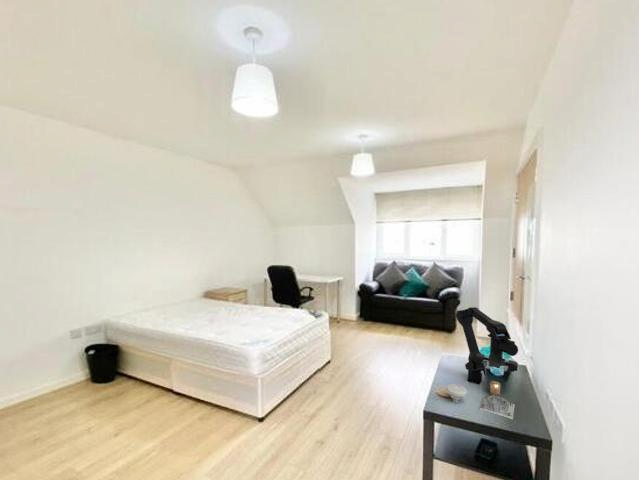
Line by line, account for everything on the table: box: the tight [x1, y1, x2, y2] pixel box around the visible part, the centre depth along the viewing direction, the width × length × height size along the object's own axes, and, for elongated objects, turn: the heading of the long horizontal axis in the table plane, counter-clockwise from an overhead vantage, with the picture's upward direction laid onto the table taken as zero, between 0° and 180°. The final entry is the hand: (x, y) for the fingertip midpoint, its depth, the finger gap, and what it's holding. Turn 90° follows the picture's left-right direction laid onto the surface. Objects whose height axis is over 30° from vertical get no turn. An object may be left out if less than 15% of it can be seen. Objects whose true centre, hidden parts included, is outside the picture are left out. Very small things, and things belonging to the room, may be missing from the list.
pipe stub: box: [489, 380, 501, 397], centre depth 163 cm, size 4×4×6 cm
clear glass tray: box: [479, 395, 516, 420], centre depth 151 cm, size 13×13×3 cm
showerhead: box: [445, 383, 468, 403], centre depth 155 cm, size 9×7×10 cm
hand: (495, 378), depth 162 cm, fingers open, 9 cm apart
